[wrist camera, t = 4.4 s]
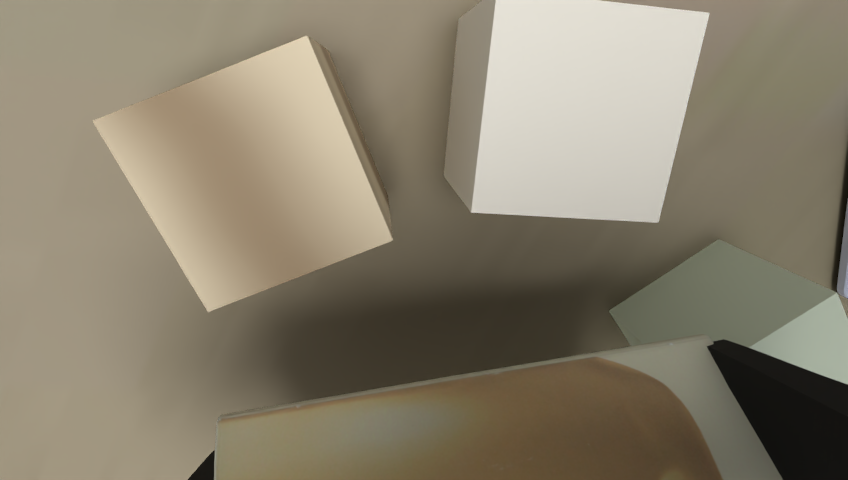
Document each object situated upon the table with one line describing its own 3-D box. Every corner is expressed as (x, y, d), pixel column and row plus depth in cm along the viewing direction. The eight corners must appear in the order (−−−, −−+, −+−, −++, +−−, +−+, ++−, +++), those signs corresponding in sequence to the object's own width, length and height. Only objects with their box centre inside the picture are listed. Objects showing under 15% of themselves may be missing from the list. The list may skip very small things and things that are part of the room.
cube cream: (606, 34, 15) (709, 12, 11) (579, 184, 17) (658, 222, 12) (457, 19, 15) (497, -12, 10) (443, 175, 16) (471, 212, 12)
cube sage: (717, 238, 18) (837, 292, 14) (761, 327, 20) (882, 404, 15) (607, 309, 19) (686, 385, 14) (659, 391, 20) (745, 484, 16)
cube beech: (328, 50, 15) (307, 35, 10) (387, 195, 16) (393, 240, 12) (181, 108, 15) (92, 120, 10) (255, 246, 16) (208, 312, 12)
